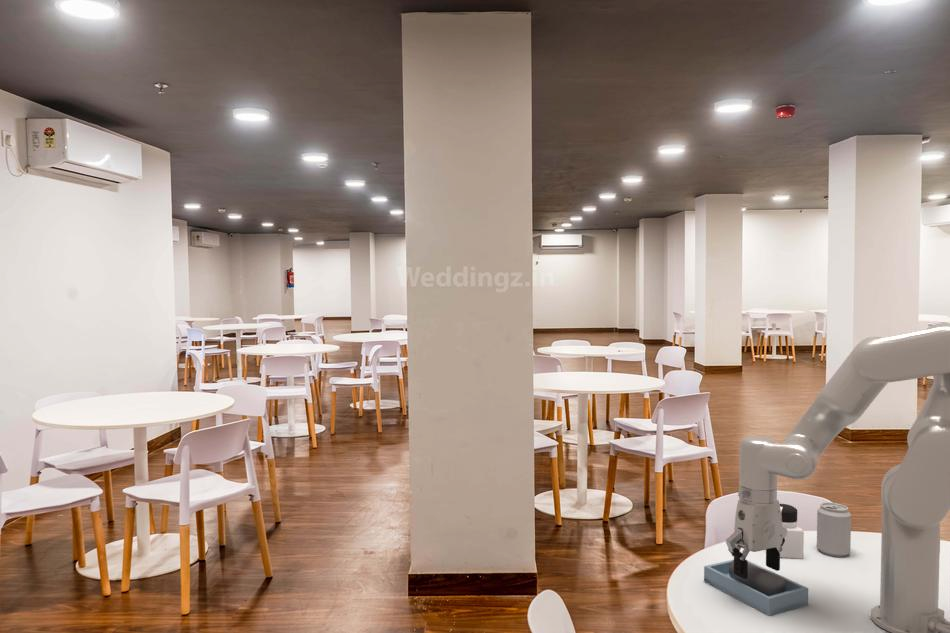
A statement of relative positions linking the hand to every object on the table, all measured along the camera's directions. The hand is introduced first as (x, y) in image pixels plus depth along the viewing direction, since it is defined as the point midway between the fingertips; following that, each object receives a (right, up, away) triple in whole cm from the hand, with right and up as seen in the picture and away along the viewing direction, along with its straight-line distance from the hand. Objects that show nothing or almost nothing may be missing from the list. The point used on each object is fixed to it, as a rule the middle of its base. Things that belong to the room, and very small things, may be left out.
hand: (756, 572), depth 140 cm
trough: (0, -5, +1) cm, 5 cm away
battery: (0, -4, 0) cm, 4 cm away
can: (+30, -4, +24) cm, 38 cm away
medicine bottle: (+17, -4, +23) cm, 29 cm away
